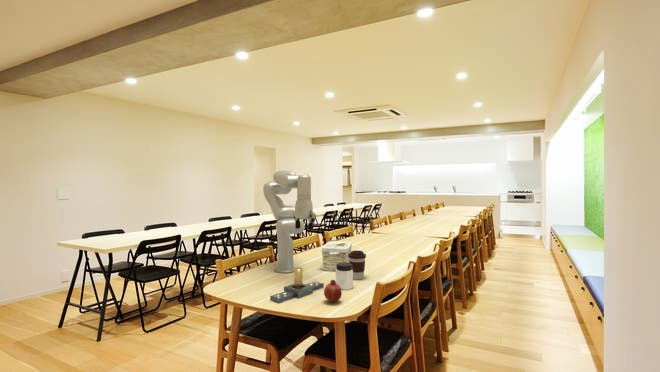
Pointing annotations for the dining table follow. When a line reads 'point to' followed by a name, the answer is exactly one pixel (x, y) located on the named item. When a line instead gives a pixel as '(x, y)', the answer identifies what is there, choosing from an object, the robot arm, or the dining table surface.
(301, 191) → the robot arm
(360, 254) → the coffee cup
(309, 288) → the grey socket base
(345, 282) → the jar
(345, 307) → the dining table surface
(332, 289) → the fruit
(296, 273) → the pin
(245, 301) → the dining table surface
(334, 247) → the storage basket
